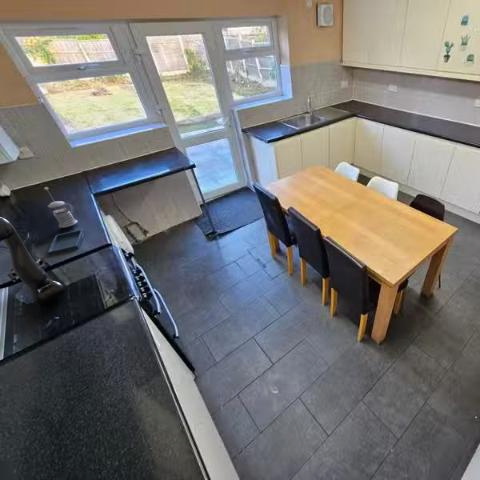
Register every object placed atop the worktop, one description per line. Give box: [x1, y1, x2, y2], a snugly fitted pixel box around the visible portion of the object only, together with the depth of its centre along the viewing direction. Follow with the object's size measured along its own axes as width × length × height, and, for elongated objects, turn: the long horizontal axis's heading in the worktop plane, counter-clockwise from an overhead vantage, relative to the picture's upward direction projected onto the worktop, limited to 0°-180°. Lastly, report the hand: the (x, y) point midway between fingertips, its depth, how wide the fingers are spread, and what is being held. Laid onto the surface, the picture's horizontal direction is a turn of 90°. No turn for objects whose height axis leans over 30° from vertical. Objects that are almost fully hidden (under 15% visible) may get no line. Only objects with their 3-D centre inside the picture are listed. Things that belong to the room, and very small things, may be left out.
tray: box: [46, 228, 86, 256], centre depth 158 cm, size 18×14×2 cm
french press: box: [43, 186, 79, 228], centre depth 168 cm, size 10×12×25 cm
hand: (24, 264), depth 132 cm, fingers open, 8 cm apart
